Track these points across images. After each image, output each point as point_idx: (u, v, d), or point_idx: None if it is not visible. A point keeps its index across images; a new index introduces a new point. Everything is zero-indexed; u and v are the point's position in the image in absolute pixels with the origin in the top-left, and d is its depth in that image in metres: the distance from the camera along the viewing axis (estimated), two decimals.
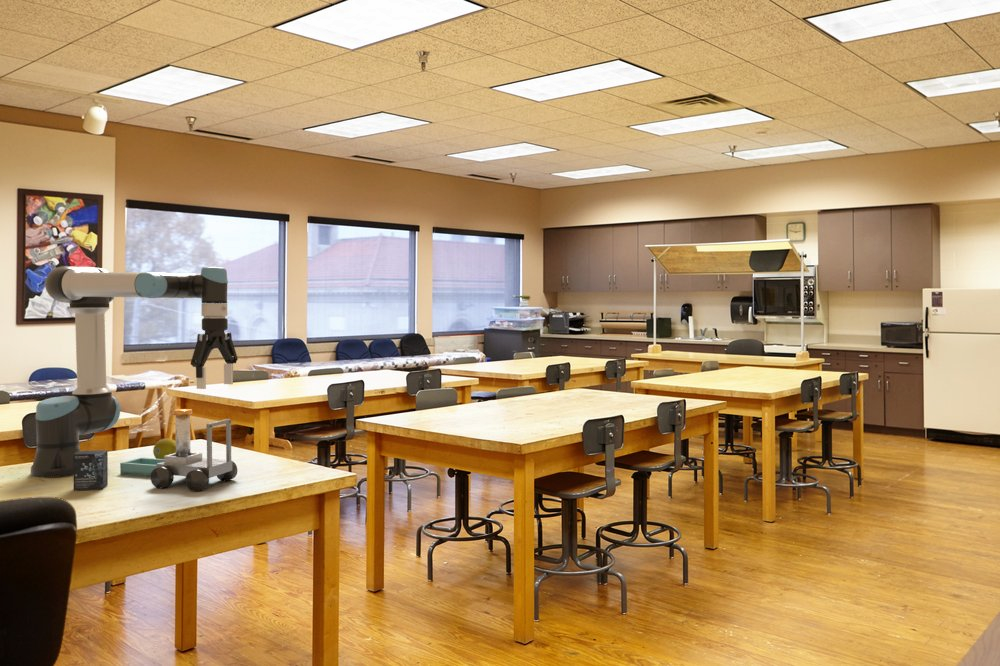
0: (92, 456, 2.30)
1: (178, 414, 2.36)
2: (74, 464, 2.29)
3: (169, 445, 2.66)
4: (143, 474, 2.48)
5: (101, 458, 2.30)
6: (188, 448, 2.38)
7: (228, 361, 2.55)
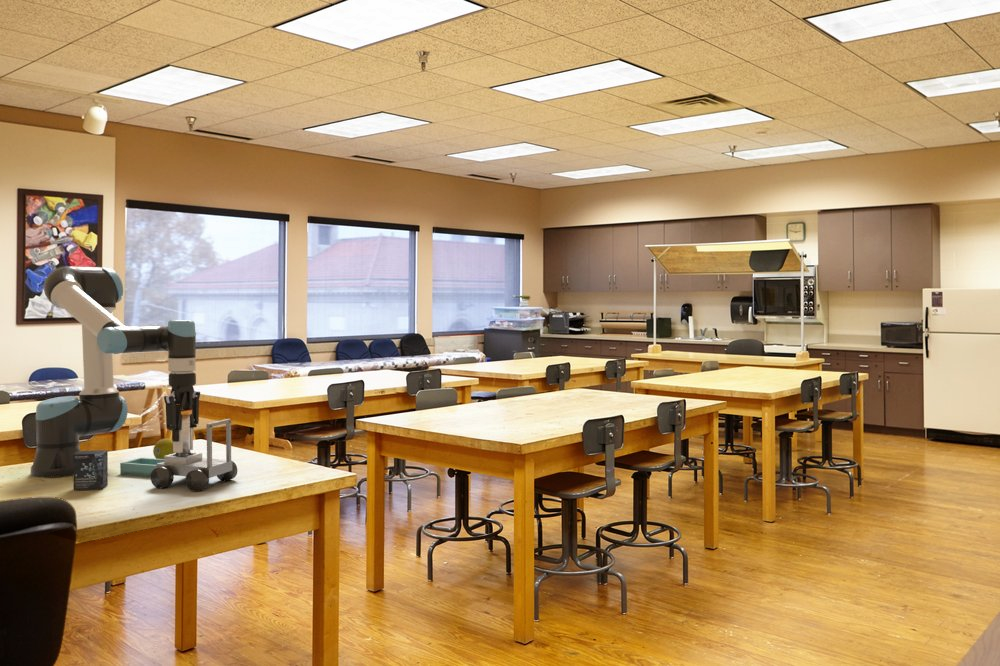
0: (92, 456, 2.30)
1: None
2: (74, 464, 2.29)
3: (169, 445, 2.66)
4: (143, 474, 2.48)
5: (101, 458, 2.30)
6: (188, 448, 2.38)
7: None
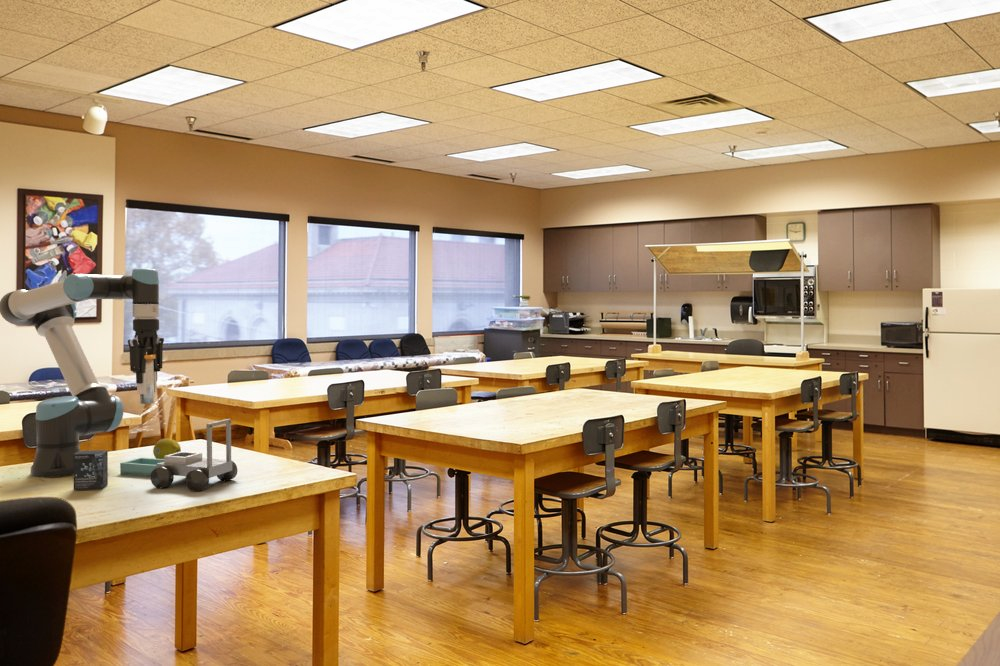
0: (92, 456, 2.30)
1: None
2: (74, 464, 2.29)
3: (169, 445, 2.66)
4: (143, 474, 2.48)
5: (101, 458, 2.30)
6: (152, 390, 2.51)
7: None
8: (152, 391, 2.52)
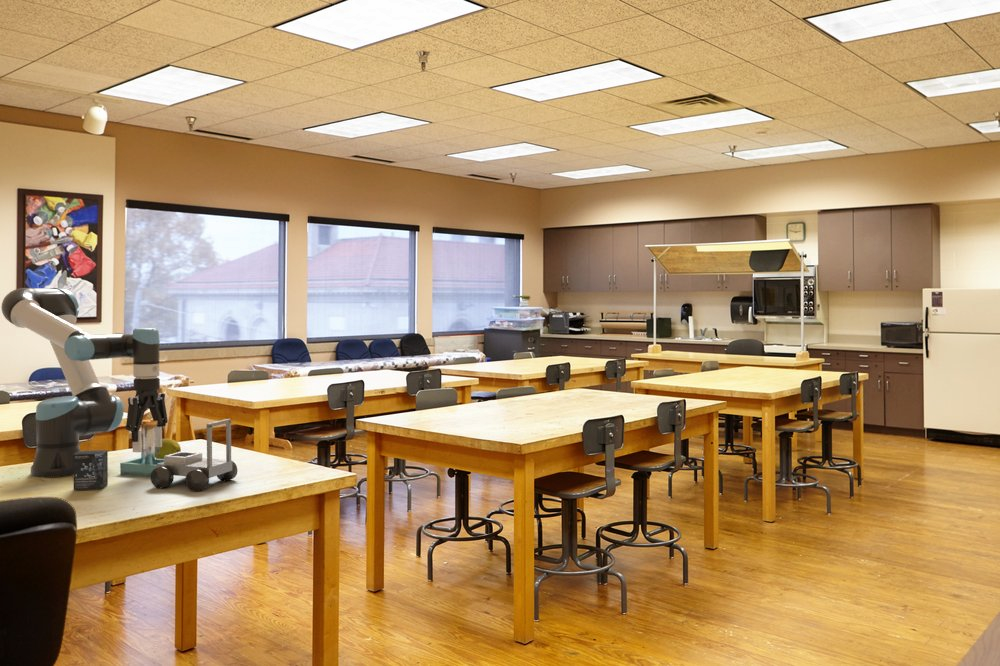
0: (92, 456, 2.30)
1: (144, 425, 2.50)
2: (74, 464, 2.29)
3: (169, 445, 2.66)
4: (143, 474, 2.48)
5: (101, 458, 2.30)
6: (153, 457, 2.52)
7: None
8: (153, 457, 2.53)
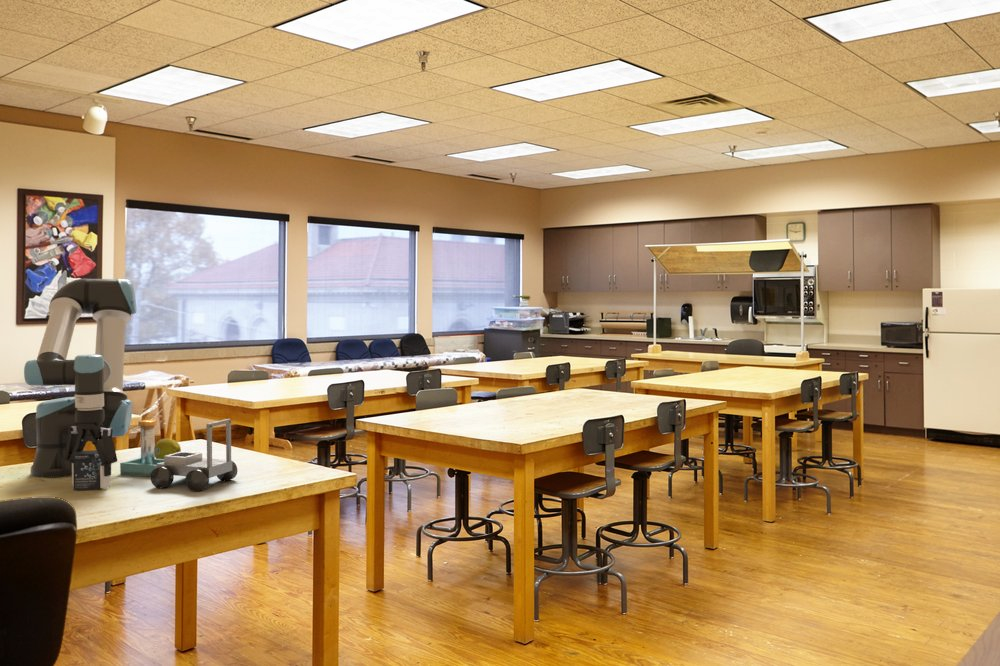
0: (92, 455, 2.30)
1: (143, 425, 2.50)
2: (74, 464, 2.29)
3: (169, 445, 2.66)
4: (143, 474, 2.48)
5: None
6: (152, 457, 2.52)
7: None
8: (153, 458, 2.52)
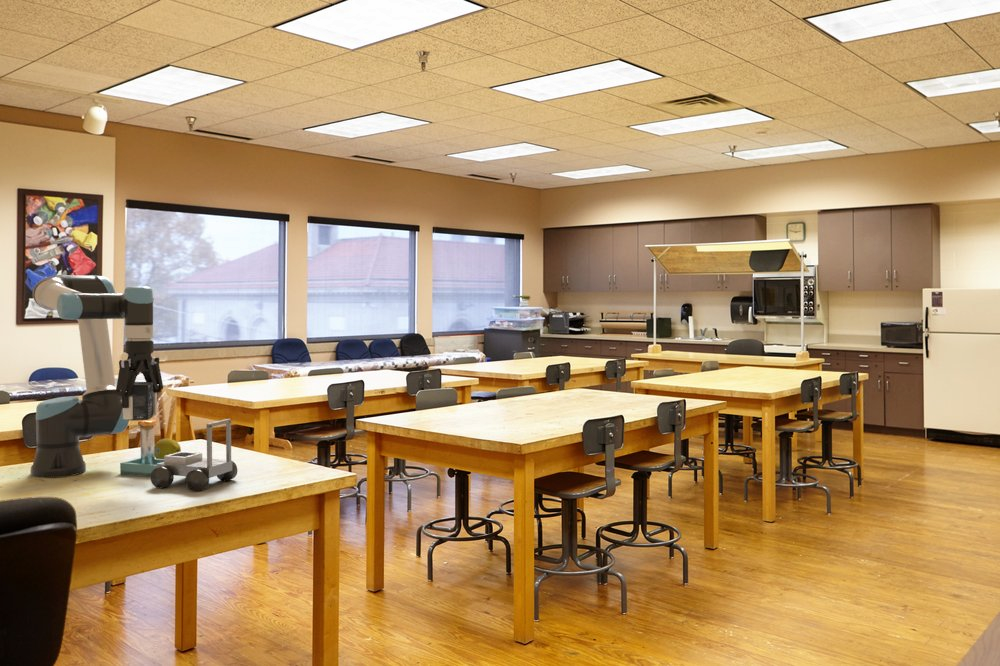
0: (151, 384, 2.36)
1: (142, 425, 2.50)
2: (148, 394, 2.32)
3: (169, 445, 2.66)
4: (143, 474, 2.48)
5: (152, 386, 2.39)
6: (152, 457, 2.52)
7: None
8: (153, 458, 2.52)
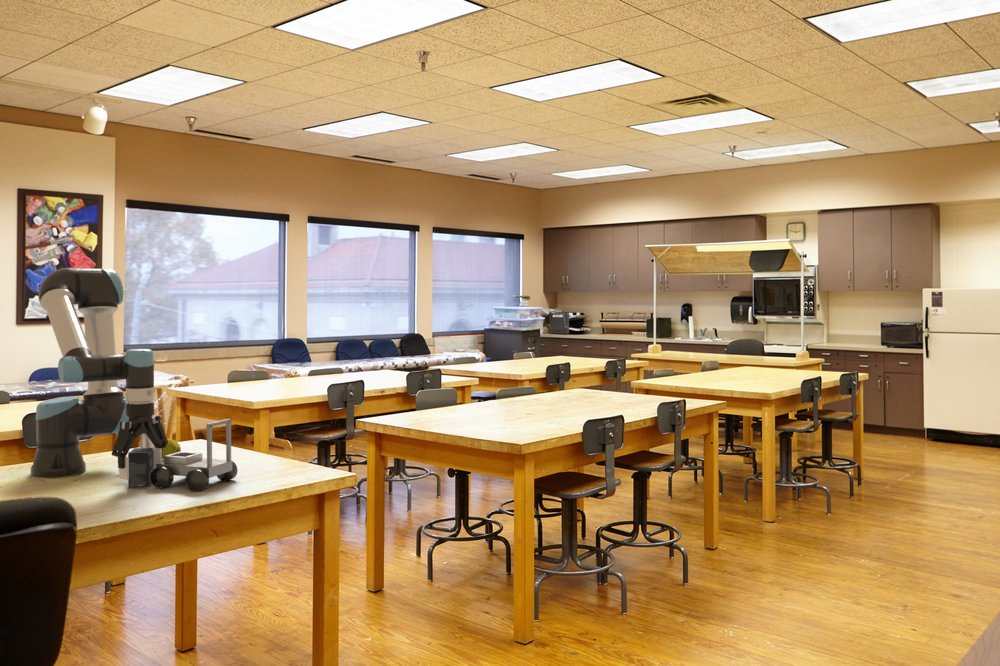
0: (152, 451, 2.37)
1: None
2: (148, 461, 2.33)
3: (169, 445, 2.66)
4: None
5: (153, 452, 2.39)
6: None
7: (157, 445, 2.42)
8: None
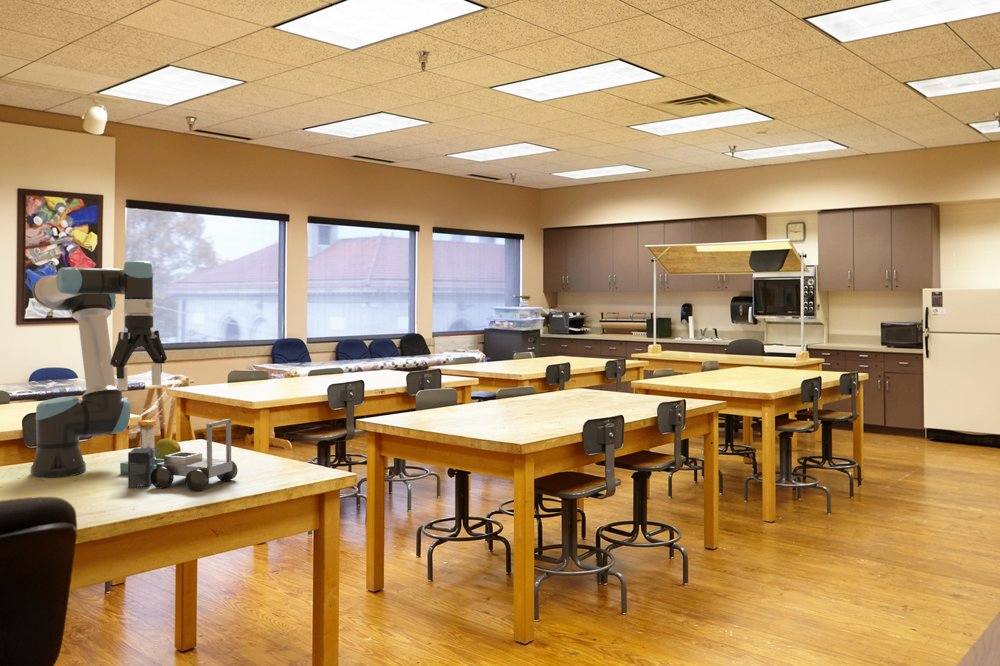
0: (152, 451, 2.37)
1: (143, 425, 2.50)
2: (148, 461, 2.33)
3: (169, 445, 2.66)
4: None
5: (153, 452, 2.39)
6: None
7: (156, 361, 2.41)
8: None
